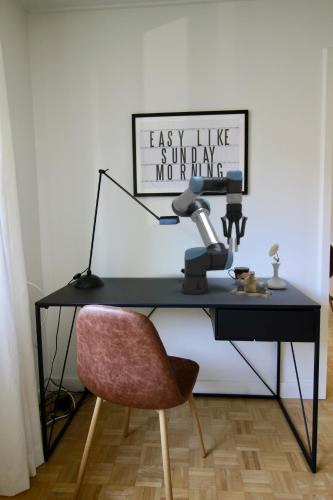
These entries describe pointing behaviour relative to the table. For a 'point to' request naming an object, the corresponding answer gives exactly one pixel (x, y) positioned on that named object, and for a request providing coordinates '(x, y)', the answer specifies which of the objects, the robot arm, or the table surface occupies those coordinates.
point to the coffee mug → (239, 272)
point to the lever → (247, 274)
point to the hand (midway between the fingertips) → (233, 251)
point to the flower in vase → (275, 271)
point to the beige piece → (251, 287)
